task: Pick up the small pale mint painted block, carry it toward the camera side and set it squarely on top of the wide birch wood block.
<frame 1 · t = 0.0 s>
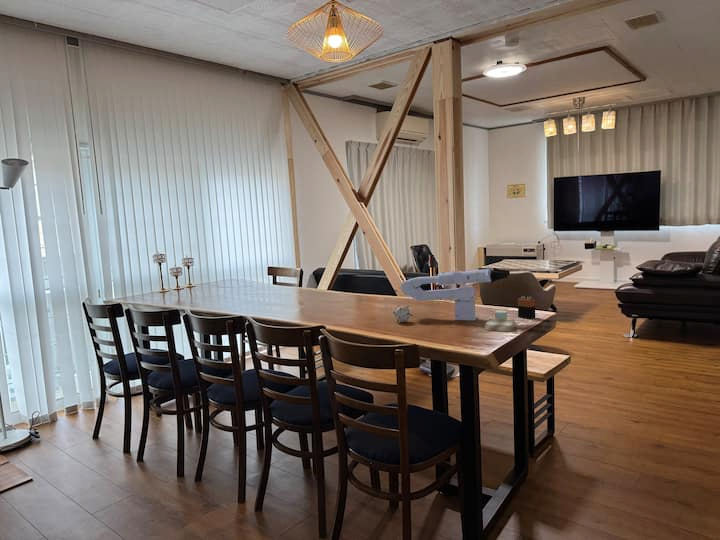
hand: (508, 273, 229), 22 cm above the table, tool horizontal, fingers open, 7 cm apart
battery: (526, 318, 236), on the table
grey spiky ball: (403, 322, 239), on the table
birch block: (500, 328, 219), on the table
mint block: (501, 322, 229), on the table
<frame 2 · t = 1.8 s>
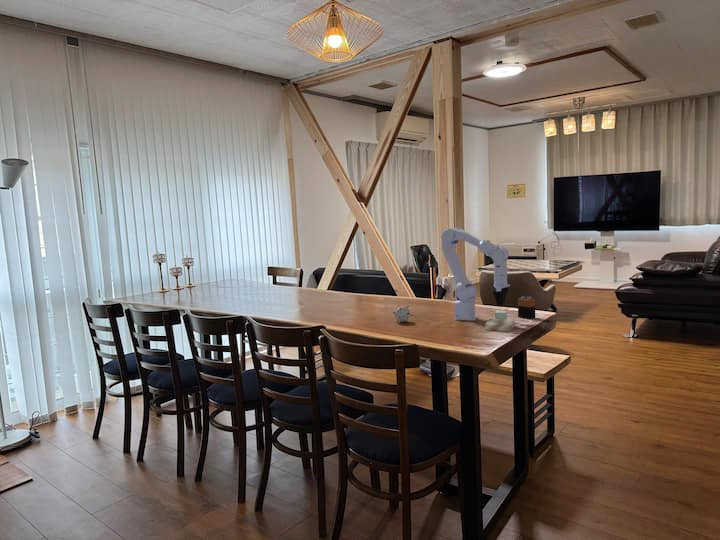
hand: (501, 304, 228), 8 cm above the table, tool pointing down, fingers open, 7 cm apart
nothing on the table moved.
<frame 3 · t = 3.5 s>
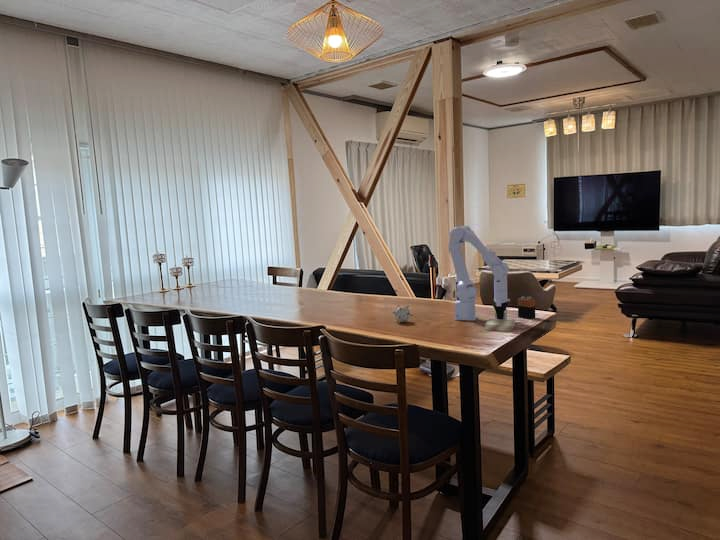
hand: (501, 319, 229), 1 cm above the table, tool pointing down, fingers closed on mint block, 5 cm apart
mint block: (501, 322, 229), on the table, touching gripper
everything else where it was.
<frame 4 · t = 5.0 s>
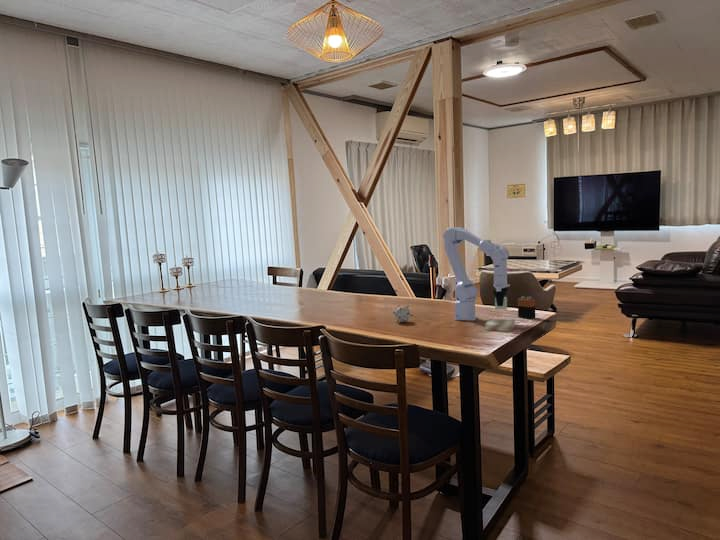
hand: (500, 304, 226), 8 cm above the table, tool pointing down, fingers closed on mint block, 5 cm apart
mint block: (501, 308, 226), point 7 cm above the table, touching gripper
everything else where it was.
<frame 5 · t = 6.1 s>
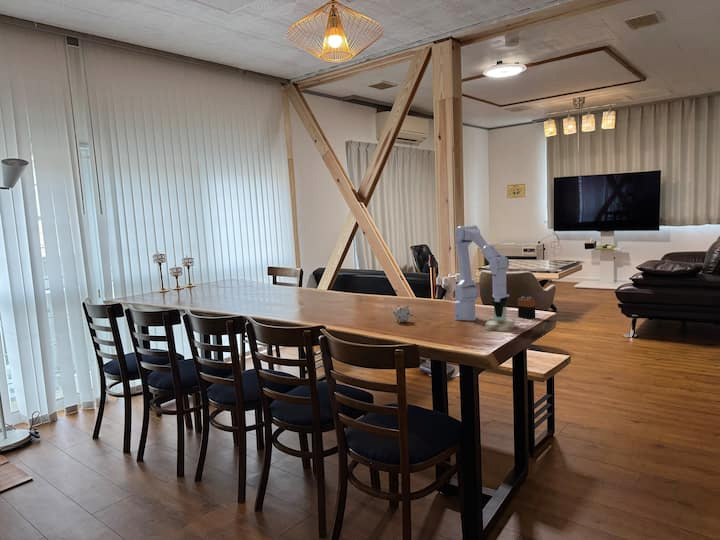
hand: (499, 315, 218), 5 cm above the table, tool pointing down, fingers closed on mint block, 5 cm apart
mint block: (500, 319, 219), point 4 cm above the table, touching gripper
everything else where it was.
when the fingers open (5 cm above the table, at t = 6.9 s): mint block drops 1 cm, point 2 cm above the table.
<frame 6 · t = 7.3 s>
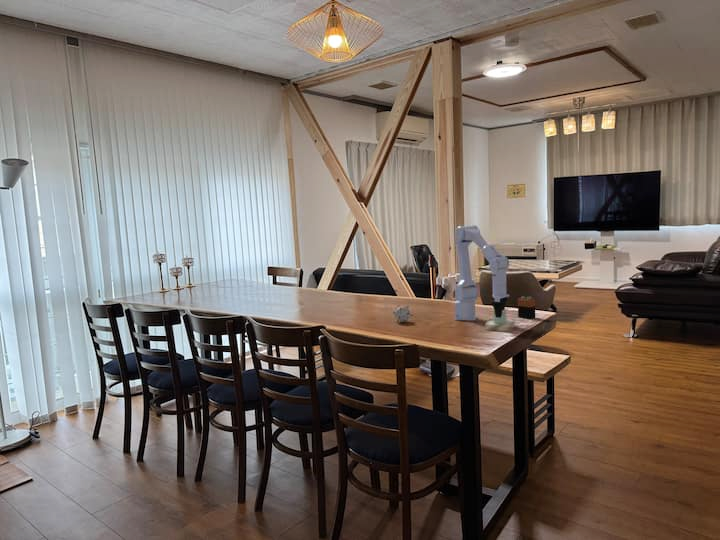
hand: (499, 315, 218), 5 cm above the table, tool pointing down, fingers open, 7 cm apart
mint block: (500, 322, 219), point 2 cm above the table
everything else where it was.
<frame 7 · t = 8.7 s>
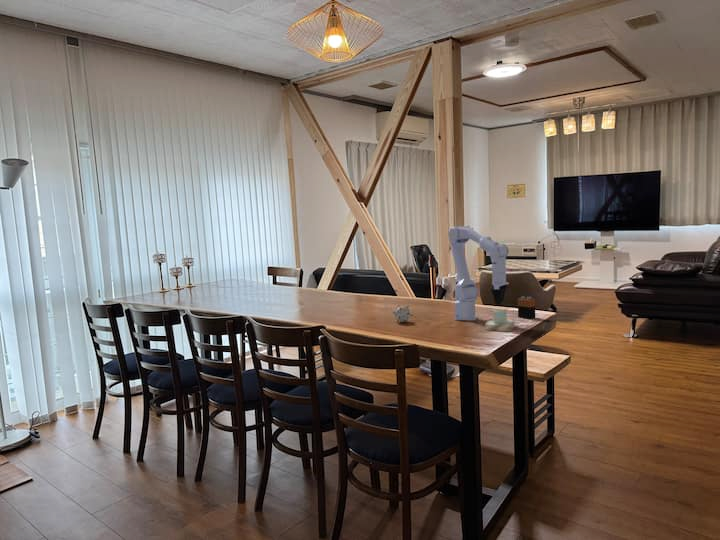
hand: (499, 303, 221), 10 cm above the table, tool pointing down, fingers open, 7 cm apart
birch block: (500, 329, 219), on the table, touching mint block
mint block: (500, 322, 219), point 2 cm above the table, touching birch block
everything else where it was.
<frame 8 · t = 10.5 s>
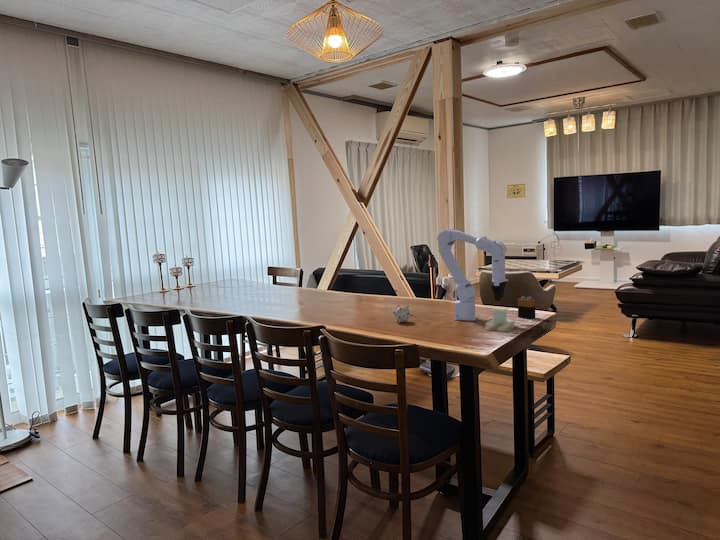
hand: (499, 299, 230), 10 cm above the table, tool pointing down, fingers open, 7 cm apart
birch block: (500, 329, 219), on the table
mint block: (500, 322, 219), point 2 cm above the table
everything else where it was.
at the end: mint block 0.2 cm off-centre on the birch block, point 3.0 cm above the birch block's base; mint block tilted 1°; the gripper is holding nothing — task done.
